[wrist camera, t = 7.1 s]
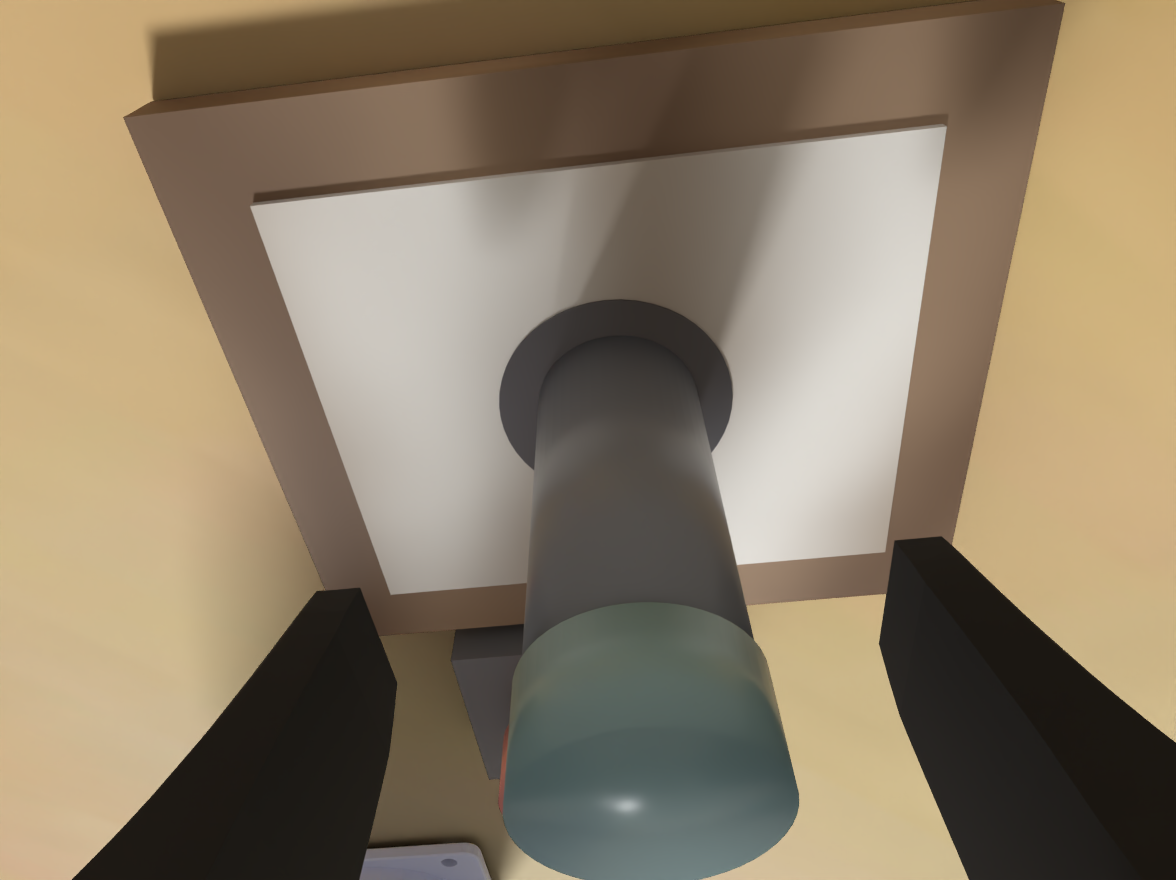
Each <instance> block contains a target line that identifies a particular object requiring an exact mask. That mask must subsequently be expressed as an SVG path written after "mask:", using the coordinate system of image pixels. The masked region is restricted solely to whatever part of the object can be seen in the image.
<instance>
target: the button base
mask: <svg viewBox="0 0 1176 880" xmlns="http://www.w3.org/2000/svg"><path fill="white" fill-rule="evenodd" d="M523 635H524V624H516V625H504V626H492V627H480V628H468V629H456V632H455V638H454V644H453V651H452V657H451V662H452V666H453V669H454V672H455V675H456V678H457V681H458V684H459V687H460V690H461V694H462V697H463V700H464V703H465V706H466V709H467V712H468V715H469V718H470V722H471V725H472V728H473V731H474V734H475V737H476V740H477V743H478V746H479V750H480V753H481V756H482V759H483V762H484V765H485V768H486V771H487V774H488V777H489V780H490V779H500V775H501V763H502V751H503V739H504V733H505V730H506V728H507V726H508V725H509V719H510V706H511V692H512V680H513V676H514V672H515V669H516V666H517V664H518V662H519V660H520V658H521V657H522V651H523Z"/></svg>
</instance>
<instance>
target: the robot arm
mask: <svg viewBox="0 0 1176 880" xmlns="http://www.w3.org/2000/svg"><path fill="white" fill-rule="evenodd" d="M879 645H880V649H881V653H882V656H883V660H884V663H885V667H886V670H887V674H888V678H889V681H890V685H891V688H892V691H893V695H894V698H895V701H896V705H897V708H898V711H899V715H900V717H901V720H902V722H903V725H904V727H905V730H906V732H907V734H908V737H909V739H910V742H911V744H912V746H913V749H914V751H915V754H916V756H917V758H918V761H919V763H920V765H921V768H922V770H923V773H924V775H925V777H926V780H927V782H928V784H929V787H930V789H931V791H932V794H933V796H934V798H935V801H936V803H937V805H938V808H939V810H940V812H941V815H942V817H943V820H944V822H945V824H946V827H947V829H948V831H949V834H950V836H951V838H952V841H953V843H954V845H955V848H956V850H957V852H958V855H959V857H960V859H961V862H962V864H963V866H964V869H965V871H966V873H967V876H968V878H969V880H1176V743H1175V742H1174V741H1173V740H1172V739H1170V738H1169V737H1168V736H1166V735H1165V734H1164V733H1163V732H1161V731H1160V730H1159V729H1157V728H1156V727H1155V726H1154V725H1152V724H1151V723H1150V722H1149V721H1147V720H1146V719H1145V718H1144V717H1142V716H1141V715H1140V714H1139V713H1138V712H1136V711H1135V710H1134V709H1133V708H1131V707H1130V706H1129V705H1128V704H1126V703H1125V702H1124V701H1123V700H1122V699H1120V698H1119V697H1118V696H1117V695H1115V694H1114V693H1113V692H1112V691H1111V690H1109V689H1108V688H1107V687H1106V686H1105V685H1104V684H1102V683H1101V682H1100V681H1099V680H1098V679H1096V678H1095V677H1094V676H1093V675H1092V674H1091V673H1089V672H1088V671H1087V670H1086V669H1085V668H1084V667H1083V666H1081V665H1080V664H1079V663H1078V662H1077V661H1076V660H1075V659H1073V658H1072V657H1071V656H1070V655H1069V654H1068V653H1067V652H1066V651H1064V650H1063V649H1062V648H1061V647H1060V646H1059V645H1058V644H1057V643H1055V642H1054V641H1053V640H1052V639H1051V638H1050V637H1049V636H1047V635H1046V634H1045V633H1044V632H1043V631H1042V630H1041V629H1040V628H1039V627H1038V626H1036V625H1035V624H1034V623H1033V622H1032V621H1031V620H1030V619H1029V618H1028V617H1027V616H1026V615H1025V614H1023V613H1022V612H1021V611H1020V610H1019V609H1018V608H1017V607H1016V606H1015V605H1014V604H1013V603H1012V602H1011V601H1010V600H1009V599H1007V598H1006V597H1005V596H1004V595H1003V594H1002V593H1001V592H1000V591H999V590H998V589H997V588H996V587H995V586H994V585H993V584H992V583H991V582H990V581H989V580H988V579H986V578H985V577H984V576H983V575H982V574H981V573H980V572H979V571H978V570H977V569H976V568H975V567H974V566H973V565H972V564H971V563H970V562H969V561H968V560H967V559H966V558H965V557H964V556H963V555H962V554H961V553H959V552H958V551H957V550H956V549H955V548H954V547H953V546H952V545H951V544H950V543H949V542H948V541H947V540H945V539H944V538H943V537H942V536H938V537H927V538H915V539H904V540H894V547H893V554H892V560H891V567H890V574H889V580H888V587H887V594H886V600H885V607H884V614H883V620H882V627H881V634H880V641H879ZM396 689H397V681H396V679H395V676H394V674H393V671H392V669H391V666H390V663H389V661H388V658H387V656H386V653H385V650H384V648H383V645H382V643H381V640H380V638H379V635H378V632H377V630H376V627H375V625H374V622H373V620H372V617H371V614H370V612H369V609H368V607H367V604H366V602H365V599H364V596H363V594H362V591H361V589H360V588H349V589H338V590H327V591H317V592H316V593H315V594H314V595H313V597H312V598H311V599H310V600H309V602H308V603H307V604H306V605H305V607H304V608H303V609H302V610H301V612H300V613H299V614H298V616H297V617H296V618H295V620H294V621H293V622H292V624H291V625H290V626H289V627H288V629H287V630H286V631H285V633H284V634H283V635H282V637H281V638H280V639H279V641H278V642H277V643H276V645H275V646H274V647H273V649H272V650H271V651H270V653H269V654H268V655H267V656H266V658H265V659H264V660H263V662H262V663H261V664H260V666H259V667H258V668H257V669H256V671H255V672H254V673H253V675H252V676H251V677H250V679H249V680H248V681H247V682H246V684H245V685H244V686H243V687H242V689H241V690H240V691H239V692H238V694H237V695H236V696H235V698H234V699H233V700H232V701H231V703H230V704H229V705H228V706H227V708H226V709H225V710H224V711H223V713H222V714H221V715H220V716H219V718H218V719H217V720H216V721H215V723H214V724H213V725H212V726H211V728H210V729H209V730H208V731H207V732H206V734H205V735H204V736H203V737H202V739H201V740H200V741H199V742H198V743H197V744H196V746H195V747H194V748H193V749H192V750H191V751H190V753H189V754H188V755H187V756H186V757H185V758H184V759H183V761H182V762H181V763H180V764H179V765H178V766H177V768H176V769H175V770H174V771H173V772H172V773H171V775H170V776H169V777H168V778H167V779H166V780H165V781H164V783H163V784H162V785H161V786H160V787H159V788H158V790H157V791H156V792H155V793H154V794H153V795H152V796H151V798H150V799H149V800H148V801H147V802H146V803H145V804H144V805H143V806H142V807H141V808H140V810H139V811H138V812H137V813H136V814H135V815H134V816H133V817H132V818H131V819H130V820H129V822H128V823H127V824H126V825H125V826H124V827H123V828H122V829H121V830H120V831H119V832H118V833H117V834H116V835H115V836H114V837H113V838H112V839H111V840H110V842H109V843H108V844H107V845H106V846H105V847H104V848H103V849H102V850H101V851H100V852H99V853H98V854H97V855H96V856H95V857H94V858H93V859H92V860H91V861H90V862H89V863H88V864H87V865H86V866H85V867H84V868H83V869H82V870H81V871H80V872H79V873H78V874H77V875H76V876H75V877H74V878H73V879H72V880H491V878H490V875H489V872H488V869H487V867H486V864H485V861H484V858H483V856H482V853H481V850H480V849H479V848H478V846H476V845H474V844H472V843H448V844H434V845H419V846H404V847H390V848H375V849H367V846H368V842H369V838H370V834H371V830H372V826H373V821H374V817H375V813H376V809H377V805H378V800H379V796H380V792H381V788H382V783H383V779H384V775H385V770H386V766H387V761H388V757H389V751H390V743H391V735H392V727H393V718H394V709H395V699H396Z"/></svg>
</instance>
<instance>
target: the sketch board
mask: <svg viewBox="0 0 1176 880" xmlns="http://www.w3.org/2000/svg"><path fill="white" fill-rule="evenodd" d="M1064 6H1065V3H1063V2H1060V1H1056V0H977V1H969V2H960V3H952V4H944V5H936V6H928V7H920V8H911V9H903V10H895V11H887V12H879V13H871V14H862V15H854V16H846V17H838V18H830V19H822V20H813V21H805V22H797V23H789V24H781V25H773V26H764V27H756V28H748V29H740V30H732V31H724V32H715V33H707V34H699V35H691V36H683V37H675V38H666V39H658V40H650V41H642V42H634V43H626V44H617V45H609V46H601V47H593V48H585V49H577V50H568V51H560V52H552V53H544V54H536V55H528V56H519V57H511V58H503V59H495V60H487V61H479V62H470V63H462V64H454V65H446V66H438V67H430V68H421V69H413V70H405V71H397V72H389V73H381V74H372V75H364V76H356V77H348V78H340V79H332V80H323V81H315V82H307V83H299V84H291V85H283V86H274V87H266V88H258V89H250V90H242V91H234V92H225V93H217V94H209V95H201V96H193V97H185V98H176V99H168V100H160V101H152V102H150V103H148V104H146V105H144V106H143V107H141V108H139V109H137V110H136V111H134V112H132V113H130V114H129V115H127V116H125V117H123V118H124V120H125V123H126V125H127V127H128V130H129V132H130V134H131V137H132V139H133V141H134V144H135V146H136V148H137V151H138V153H139V155H140V158H141V160H142V162H143V165H144V167H145V169H146V172H147V174H148V176H149V179H150V181H151V183H152V186H153V188H154V190H155V193H156V195H157V197H158V200H159V202H160V204H161V207H162V209H163V211H164V214H165V216H166V218H167V221H168V223H169V226H170V228H171V230H172V233H173V235H174V237H175V240H176V242H177V244H178V247H179V249H180V251H181V254H182V256H183V258H184V261H185V263H186V265H187V268H188V270H189V272H190V275H191V277H192V279H193V282H194V284H195V286H196V289H197V291H198V293H199V296H200V298H201V300H202V303H203V305H204V307H205V310H206V312H207V314H208V317H209V319H210V321H211V324H212V326H213V328H214V331H215V333H216V335H217V338H218V340H219V342H220V345H221V347H222V349H223V352H224V354H225V356H226V359H227V361H228V363H229V366H230V368H231V370H232V373H233V375H234V377H235V380H236V382H237V384H238V387H239V389H240V391H241V394H242V396H243V398H244V401H245V403H246V405H247V408H248V410H249V412H250V415H251V417H252V420H253V422H254V424H255V427H256V429H257V431H258V434H259V436H260V438H261V441H262V443H263V445H264V448H265V450H266V452H267V455H268V457H269V459H270V462H271V464H272V466H273V469H274V471H275V473H276V476H277V478H278V480H279V483H280V485H281V487H282V490H283V492H284V494H285V497H286V499H287V501H288V504H289V506H290V508H291V511H292V513H293V515H294V518H295V520H296V522H297V525H298V527H299V529H300V532H301V534H302V536H303V539H304V541H305V543H306V546H307V548H308V550H309V553H310V555H311V557H312V560H313V562H314V564H315V567H316V569H317V571H318V574H319V576H320V578H321V581H322V583H323V585H324V588H325V590H326V591H327V590H338V589H349V588H360V589H361V591H362V594H363V596H364V599H365V602H366V604H367V607H368V609H369V612H370V614H371V617H372V620H373V622H374V625H375V627H376V630H377V632H378V635H379V636H384V635H396V634H408V633H420V632H432V631H444V630H456V629H468V628H480V627H492V626H504V625H516V624H524V620H525V604H526V589H527V573H528V558H529V542H530V527H531V512H532V496H533V481H534V465H535V450H536V434H537V419H538V403H539V394H540V389H541V386H542V383H543V381H544V378H545V377H546V375H547V373H548V371H549V370H550V369H551V367H552V366H553V365H554V364H555V363H556V362H557V361H558V360H559V359H560V358H561V357H562V356H563V355H564V354H566V353H567V352H568V351H570V350H571V349H573V348H575V347H576V346H578V345H580V344H583V343H585V342H587V341H590V340H594V339H597V338H601V337H607V336H621V335H623V336H634V337H639V338H644V339H647V340H650V341H654V342H656V343H658V344H660V345H662V346H664V347H666V348H667V349H669V350H670V351H672V352H673V353H674V354H675V355H677V356H678V357H679V358H680V359H681V360H682V361H683V363H684V364H685V365H686V366H687V368H688V369H689V371H690V372H691V375H692V377H693V379H694V381H695V385H696V388H697V393H698V397H699V401H700V406H701V410H702V415H703V419H704V423H705V428H706V432H707V437H708V441H709V445H710V450H711V454H712V458H713V463H714V467H715V472H716V476H717V480H718V485H719V489H720V493H721V498H722V502H723V507H724V511H725V515H726V520H727V524H728V529H729V533H730V537H731V542H732V546H733V550H734V555H735V559H736V564H737V568H738V572H739V577H740V581H741V586H742V590H743V594H744V599H745V603H746V605H756V604H768V603H780V602H792V601H804V600H816V599H828V598H840V597H852V596H864V595H876V594H887V587H888V580H889V574H890V567H891V560H892V554H893V547H894V540H904V539H915V538H927V537H938V536H942V537H943V538H944V539H945V540H947V541H948V542H949V543H950V544H951V545H952V541H953V536H954V531H955V527H956V522H957V517H958V512H959V508H960V503H961V498H962V493H963V488H964V484H965V479H966V474H967V469H968V465H969V460H970V455H971V450H972V445H973V441H974V436H975V431H976V426H977V422H978V417H979V412H980V407H981V403H982V398H983V393H984V388H985V383H986V379H987V374H988V369H989V364H990V360H991V355H992V350H993V345H994V340H995V336H996V331H997V326H998V321H999V317H1000V312H1001V307H1002V302H1003V297H1004V293H1005V288H1006V283H1007V278H1008V274H1009V269H1010V264H1011V259H1012V255H1013V250H1014V245H1015V240H1016V235H1017V231H1018V226H1019V221H1020V216H1021V212H1022V207H1023V202H1024V197H1025V192H1026V188H1027V183H1028V178H1029V173H1030V169H1031V164H1032V159H1033V154H1034V149H1035V145H1036V140H1037V135H1038V130H1039V126H1040V121H1041V116H1042V111H1043V106H1044V102H1045V97H1046V92H1047V87H1048V83H1049V78H1050V73H1051V68H1052V64H1053V59H1054V54H1055V49H1056V44H1057V40H1058V35H1059V30H1060V25H1061V21H1062V16H1063V11H1064Z"/></svg>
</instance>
